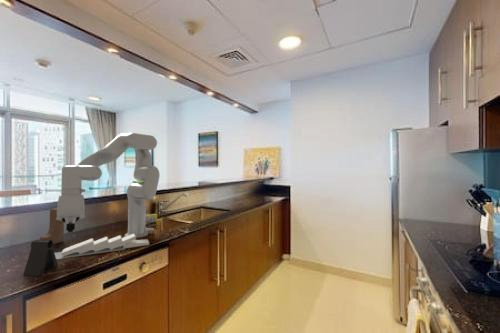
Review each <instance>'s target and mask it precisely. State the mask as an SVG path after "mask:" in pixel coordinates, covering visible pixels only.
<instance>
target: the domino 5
mask: <svg viewBox="0 0 500 333" xmlns="http://www.w3.org/2000/svg"><path fill="white" fill-rule="evenodd" d="M149 245H150V241H149V240H148V238H147V239H146V238H145V239H136V240H134V241H131V242H129V243H126V244H124V245H123V248H125V249H131V248H136V247H142V246H143V247H144V246H149Z"/></svg>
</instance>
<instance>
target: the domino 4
mask: <svg viewBox="0 0 500 333" xmlns="http://www.w3.org/2000/svg"><path fill="white" fill-rule="evenodd" d="M121 238H122V242H120V243H117V244H115V245H112V246H110V250H112V249H114V248H117V247H119V246H122V245H124V244H126V243H129V242H131V241H134V240H137V238H136V237H135V235H134V234H131V235H129V236H126V237H125V236H123V237H121Z"/></svg>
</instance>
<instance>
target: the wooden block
mask: <svg viewBox="0 0 500 333" xmlns="http://www.w3.org/2000/svg"><path fill="white" fill-rule="evenodd" d="M56 217H57V207H56V208H50V209H49V226H48V227H49V229H48V231H47V233H46V234H44V235H42V236H40V237H39V240H52V241H53V245H56V244H59V243H62V242H64V236H65V233H64V232H65V222H63V221H60V220H56Z"/></svg>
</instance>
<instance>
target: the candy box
mask: <svg viewBox="0 0 500 333" xmlns="http://www.w3.org/2000/svg"><path fill="white" fill-rule="evenodd" d="M155 226H158V213H151V214H146V220H145V227H146V228H151V227H155Z"/></svg>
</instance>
